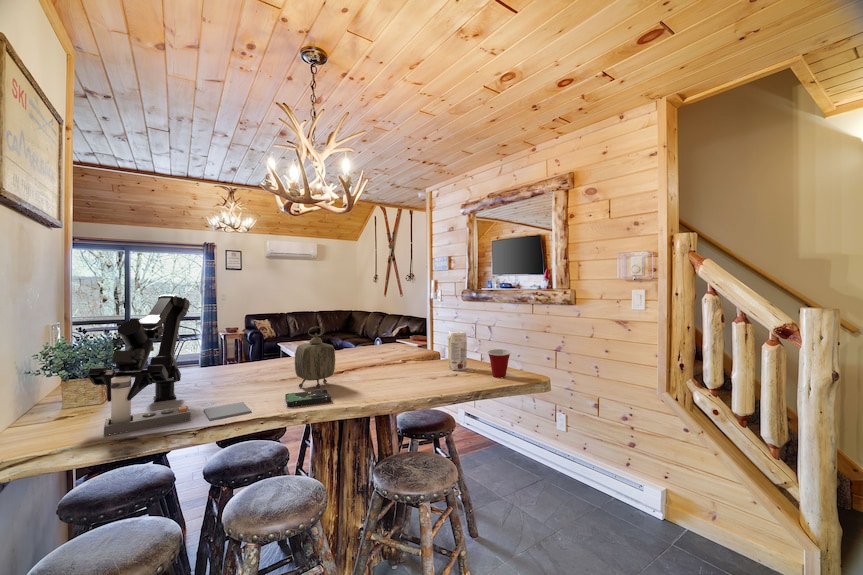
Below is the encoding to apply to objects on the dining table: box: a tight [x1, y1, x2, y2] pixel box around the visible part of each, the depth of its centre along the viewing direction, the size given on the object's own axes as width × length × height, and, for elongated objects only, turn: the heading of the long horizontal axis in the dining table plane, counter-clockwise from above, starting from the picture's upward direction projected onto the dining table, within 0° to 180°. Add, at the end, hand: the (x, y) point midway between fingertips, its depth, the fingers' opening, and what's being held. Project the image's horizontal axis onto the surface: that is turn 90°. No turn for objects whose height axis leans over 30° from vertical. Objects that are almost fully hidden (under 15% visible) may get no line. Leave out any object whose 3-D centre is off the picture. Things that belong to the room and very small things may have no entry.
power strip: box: [103, 405, 191, 436], centre depth 111 cm, size 8×20×3 cm, turn 129°
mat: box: [203, 401, 253, 421], centre depth 123 cm, size 12×12×1 cm
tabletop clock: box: [294, 325, 336, 388], centre depth 154 cm, size 14×9×25 cm, turn 133°
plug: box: [110, 376, 132, 424], centre depth 106 cm, size 7×4×13 cm, turn 16°
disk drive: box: [284, 389, 332, 409], centre depth 134 cm, size 10×3×15 cm
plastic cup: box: [487, 348, 512, 379], centre depth 173 cm, size 11×11×12 cm
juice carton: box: [447, 330, 468, 371], centre depth 189 cm, size 8×9×19 cm
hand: (118, 400), depth 106 cm, fingers closed on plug, 4 cm apart
